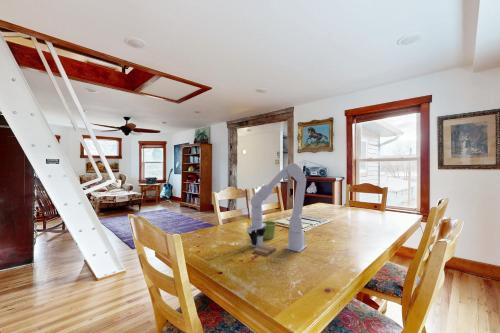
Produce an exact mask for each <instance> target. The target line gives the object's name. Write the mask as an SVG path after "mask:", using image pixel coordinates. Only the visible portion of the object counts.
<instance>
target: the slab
mask: <svg viewBox="0 0 500 333" xmlns="http://www.w3.org/2000/svg"><path fill="white" fill-rule="evenodd" d="M275 252H277V248H276V247H274V246H269V245H266V244H263V245H261V246H259V247H257V248H255V247H254V248H253V253H255V254H259V255H261V256H265V257H268V256H270V255H272V254H273V253H275Z"/></svg>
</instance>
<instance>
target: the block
mask: <svg viewBox="0 0 500 333" xmlns="http://www.w3.org/2000/svg"><path fill="white" fill-rule="evenodd" d="M261 245H264V238H263V236H259V235H258V236H257V243H256V245H252V241H251V240H250V247H252V248H254V249H255V248H257V247H259V246H261Z"/></svg>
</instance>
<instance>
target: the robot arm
mask: <svg viewBox="0 0 500 333" xmlns="http://www.w3.org/2000/svg"><path fill="white" fill-rule="evenodd" d="M289 176H290V177H293V179H294V180H295V181H296V187H295V194H294V200H293V207H292V214H291V217H290V218H289V222H288V223H289V225H288V226H289V229H288V235H287V236H288V237H287V238H288V239H287V240H288V242H287V244H288V245H287V246H286V247H285V249H286V250H289V251H293V252H298V253H300V252H301V251H303V250H304V249H306V247H307V245H306V234H305V231H304V230H303V224H302V213H303V208H304V207H303V206H304V201H305V193H306V188H307V187H306V186H307V177H306V176H305V174H304V172H303V169H302V168H301V167H300V166H299V165H298V164H297V163H294V162H290V163H288V164H287V166H285V167H283V169H281V170H280V171H279V172H278V173H277V174H276V175H275V176H274V178H273V179H272V180H271V181H270V182H269V183H268V184H267V183H265V184H263V185H261V186H260V189H259V190H258V191H257V192H255V194H254V195H253V196H252V197H251V200H250V203H251V224H250V225H249V227H248V228H247V232H246V233H247V234H248V236H249V238H250V242H251V241H252V245H256V243H257V236H258V235H259V236H263V235H264V232H265V231H266V229H265V228H263V227H266V223H262V222H263V205H262V204H263V202H265V201H266V200H267V199H268V197H269V196H271V195H272V194H273V192H274V190H273V189H274V187H276V186H277V185H278V184H279V183H280V182H281V180H283V179H284V178H287V177H289Z"/></svg>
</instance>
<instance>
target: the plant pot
mask: <svg viewBox="0 0 500 333" xmlns="http://www.w3.org/2000/svg"><path fill="white" fill-rule="evenodd" d="M262 223H266V227H263V228H265V229H266V231H265V232H264V235H263V239H265V240H273V239H274V237H275V231H276V226H277V222H276V221H272V220H265V221H264V220H263V221H262Z"/></svg>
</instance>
